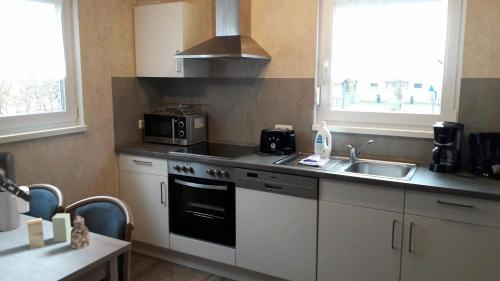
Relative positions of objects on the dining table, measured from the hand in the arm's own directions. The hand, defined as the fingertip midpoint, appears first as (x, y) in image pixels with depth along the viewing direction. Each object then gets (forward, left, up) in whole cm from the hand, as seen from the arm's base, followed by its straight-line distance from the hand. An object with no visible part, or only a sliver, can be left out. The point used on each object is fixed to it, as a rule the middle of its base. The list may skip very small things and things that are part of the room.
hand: (27, 198), depth 146 cm
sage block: (-14, +8, -23) cm, 28 cm away
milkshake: (+1, -2, -5) cm, 5 cm away
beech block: (-11, -1, -23) cm, 25 cm away
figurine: (-6, +16, -23) cm, 28 cm away
